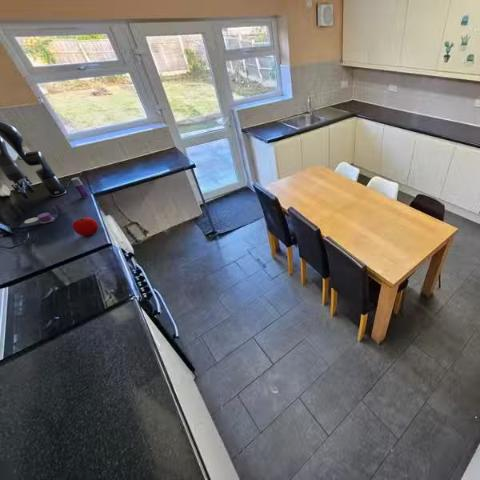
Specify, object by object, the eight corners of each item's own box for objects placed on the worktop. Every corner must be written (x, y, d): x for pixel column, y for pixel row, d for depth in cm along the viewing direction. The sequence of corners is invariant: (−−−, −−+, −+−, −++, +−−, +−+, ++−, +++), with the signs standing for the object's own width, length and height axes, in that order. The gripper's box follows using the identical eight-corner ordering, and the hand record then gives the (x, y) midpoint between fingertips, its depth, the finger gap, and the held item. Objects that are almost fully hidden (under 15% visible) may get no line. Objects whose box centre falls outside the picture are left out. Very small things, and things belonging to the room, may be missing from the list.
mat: (25, 219, 182) (25, 219, 182) (59, 213, 188) (59, 213, 188) (18, 228, 174) (17, 227, 174) (53, 221, 180) (53, 221, 179)
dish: (43, 218, 182) (39, 213, 180) (54, 216, 184) (50, 211, 182) (39, 223, 178) (35, 218, 175) (51, 221, 179) (47, 216, 177)
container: (85, 198, 205) (74, 180, 196) (80, 197, 206) (69, 179, 197) (91, 195, 209) (80, 177, 200) (86, 195, 210) (75, 177, 201)
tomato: (76, 240, 162) (65, 225, 155) (81, 230, 171) (71, 216, 164) (99, 236, 166) (90, 220, 159) (103, 226, 174) (94, 211, 167)
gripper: (9, 167, 165) (27, 191, 175) (-2, 176, 154) (17, 201, 164) (25, 165, 167) (42, 189, 177) (14, 174, 157) (33, 199, 167)
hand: (30, 195), depth 171 cm, fingers open, 8 cm apart
